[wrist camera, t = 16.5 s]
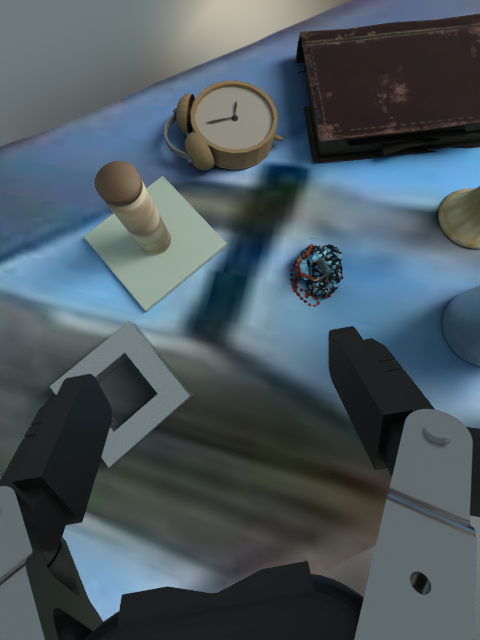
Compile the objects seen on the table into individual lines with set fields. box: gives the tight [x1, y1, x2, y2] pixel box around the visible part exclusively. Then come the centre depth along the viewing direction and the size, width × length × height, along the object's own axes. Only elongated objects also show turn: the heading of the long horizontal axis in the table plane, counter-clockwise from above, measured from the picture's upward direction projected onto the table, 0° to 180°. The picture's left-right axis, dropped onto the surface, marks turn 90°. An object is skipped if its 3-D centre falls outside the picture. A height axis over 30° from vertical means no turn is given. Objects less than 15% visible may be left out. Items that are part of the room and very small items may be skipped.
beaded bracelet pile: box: [290, 238, 343, 307], centre depth 40 cm, size 8×7×8 cm
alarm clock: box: [164, 81, 283, 170], centre depth 42 cm, size 11×5×15 cm
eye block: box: [50, 322, 194, 467], centre depth 36 cm, size 11×11×2 cm
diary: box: [296, 14, 480, 163], centre depth 43 cm, size 19×25×5 cm
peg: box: [95, 161, 171, 255], centre depth 34 cm, size 4×4×12 cm
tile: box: [84, 176, 227, 312], centre depth 41 cm, size 13×13×1 cm
